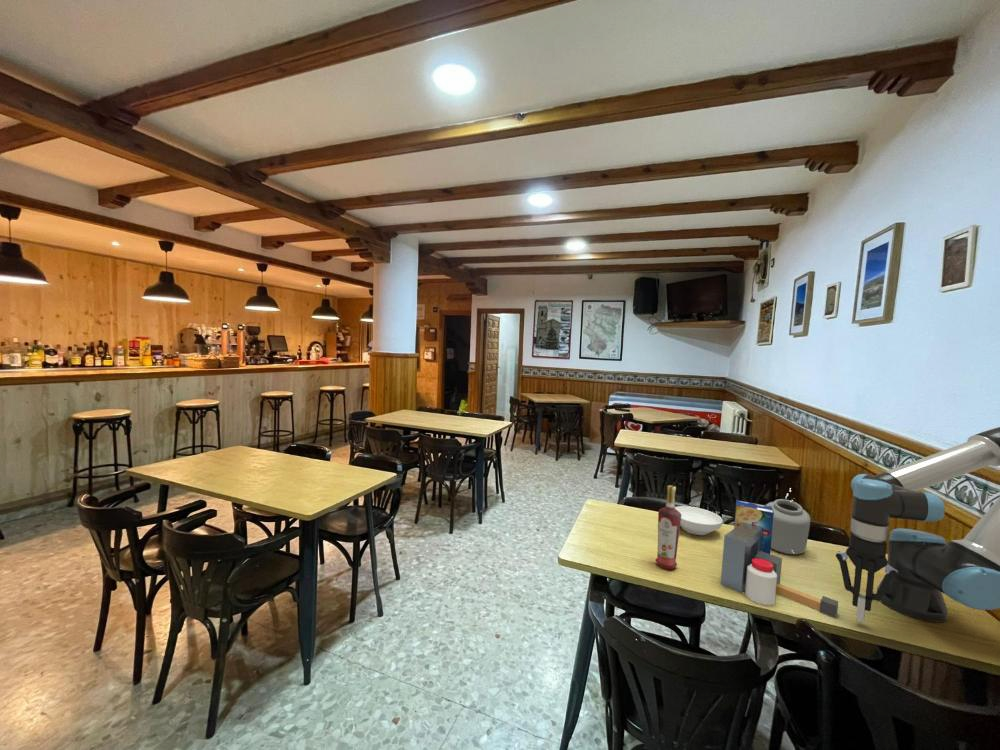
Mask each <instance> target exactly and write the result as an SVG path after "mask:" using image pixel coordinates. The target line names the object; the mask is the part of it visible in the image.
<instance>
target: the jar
mask: <svg viewBox="0 0 1000 750" xmlns="http://www.w3.org/2000/svg"><path fill="white" fill-rule="evenodd" d="M791 489H792V488H791V487H790V488H789V492H790V493H791V492H792V490H791ZM788 496H789V493H786V496H785V499H784V498H779V499H775V500H774V501H769V502H768V503H766V504H765V506H770V507H772V509H773V512H774V515H773V527H772V539H771V550H774V551H775V552H779V553H781V554H786V555H799V554H802V553H805V551H806V550H807V544H808V540H809V539H808V538H809V533H810V526H811V516H810V515H809V512H807V511H806V510H805V509H803V507H802V506H803V505H801V504H799V503H797V502H796V501H794V500H793V499H791V500H789V499H786V498H787V497H788ZM801 562H803V561H802V560H801Z"/></svg>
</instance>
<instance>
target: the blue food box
mask: <svg viewBox="0 0 1000 750" xmlns="http://www.w3.org/2000/svg"><path fill="white" fill-rule="evenodd" d="M734 513H735V514H734V525H733V529H734V528H736V527H737V526H739V525H740V524H741V523H747V524H752V525H757V526H761V527H764V536H763V548H762V552H765V553H768V554H771V550H772V548H771V539H772V527H773V515H774V512H773V509H772V507H770V506H766V504H759V503H753V502H748V501H743V500H739V499H736V500H735V511H734Z"/></svg>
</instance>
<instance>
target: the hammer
mask: <svg viewBox="0 0 1000 750" xmlns="http://www.w3.org/2000/svg"><path fill="white" fill-rule="evenodd" d="M755 558H759V559H763V560H766V561H769V562H770V563H772V564H773V570H774V571H775V573H776V574H777V584H776V595H779V596H780V597H781V596H782V597H784V598H786V599H788V600H790V601H793V602H796V603H799V604H801V605H804V606H806V607H809V608H812V609H814V610H817V611H818V612H820V613H822V614H824V615H827V616H829V617H832V618H834V619H836V617H837V614H838V610H839V601H838V600H836V599H833V598H830V597H827V596H824V595H823V596H822V598H821V599H820V598H817V597H815V596H812V595H810V594H808V593H805V592H802V591H799V590H797V589H794V588H792V587H789V586H786V585H785V584H784V585H783V584H781V575H782V574H781V573H782V566H783V565H782V562H783V558H782V557H779V556H777V555H773V554H771V553H770V554H768V553H765V552H762V551H760V552H759V553H758V554H757V555H756V556H755Z"/></svg>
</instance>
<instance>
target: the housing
mask: <svg viewBox="0 0 1000 750" xmlns="http://www.w3.org/2000/svg"><path fill="white" fill-rule="evenodd" d="M763 536H764V527H761V526H757V525H752V524H747V523H741V524H740V525H739V526H737V527H736V528H734V527H733V529H731V530H730V531H729V532H728V533H726V534H725V535H724V538H723V550H722V551H723V552H722V562H721V573H720V574H721V577H720V585H722V586H723V587H726V588H728V587H729V589H731V590H733V591H735V590H736V591H735V592H738V593H740V594H742V593H743V592H745V586H746V574H747V566H748V565H750V564H752V559H754V558H755V556H756V555H757V554H758V553H759V552H760V551H762V548H763Z"/></svg>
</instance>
